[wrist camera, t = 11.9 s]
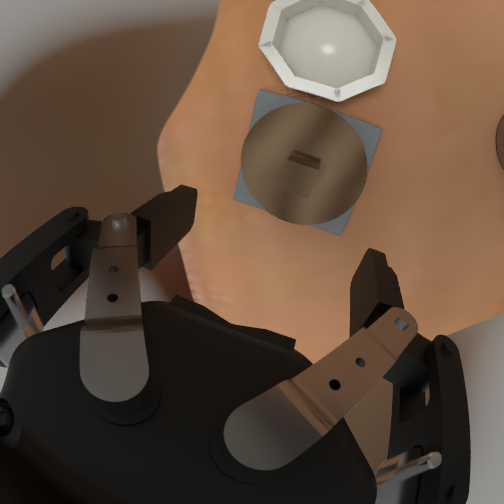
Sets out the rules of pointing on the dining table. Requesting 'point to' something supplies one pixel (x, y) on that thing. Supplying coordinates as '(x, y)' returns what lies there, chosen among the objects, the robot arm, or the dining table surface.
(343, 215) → the mat
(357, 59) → the bowl
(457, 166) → the dining table surface
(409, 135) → the dining table surface
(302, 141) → the lid
